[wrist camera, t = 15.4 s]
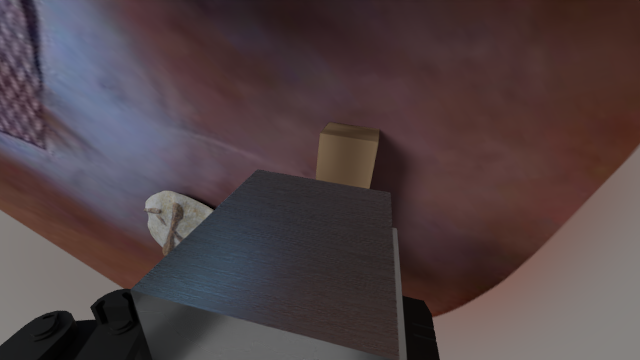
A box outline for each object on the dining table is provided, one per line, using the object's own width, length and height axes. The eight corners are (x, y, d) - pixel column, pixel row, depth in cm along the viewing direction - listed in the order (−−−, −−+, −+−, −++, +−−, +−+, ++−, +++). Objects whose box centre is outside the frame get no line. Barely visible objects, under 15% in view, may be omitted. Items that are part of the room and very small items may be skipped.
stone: (158, 236, 35) (138, 252, 32) (158, 176, 31) (134, 189, 28) (242, 269, 34) (229, 289, 31) (253, 212, 30) (239, 229, 27)
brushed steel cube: (259, 280, 15) (176, 433, 9) (257, 169, 12) (130, 289, 6) (363, 305, 15) (349, 493, 8) (390, 192, 11) (399, 361, 5)
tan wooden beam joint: (300, 283, 33) (280, 338, 26) (314, 119, 24) (289, 142, 18) (359, 297, 32) (353, 358, 25) (395, 131, 23) (400, 159, 17)
